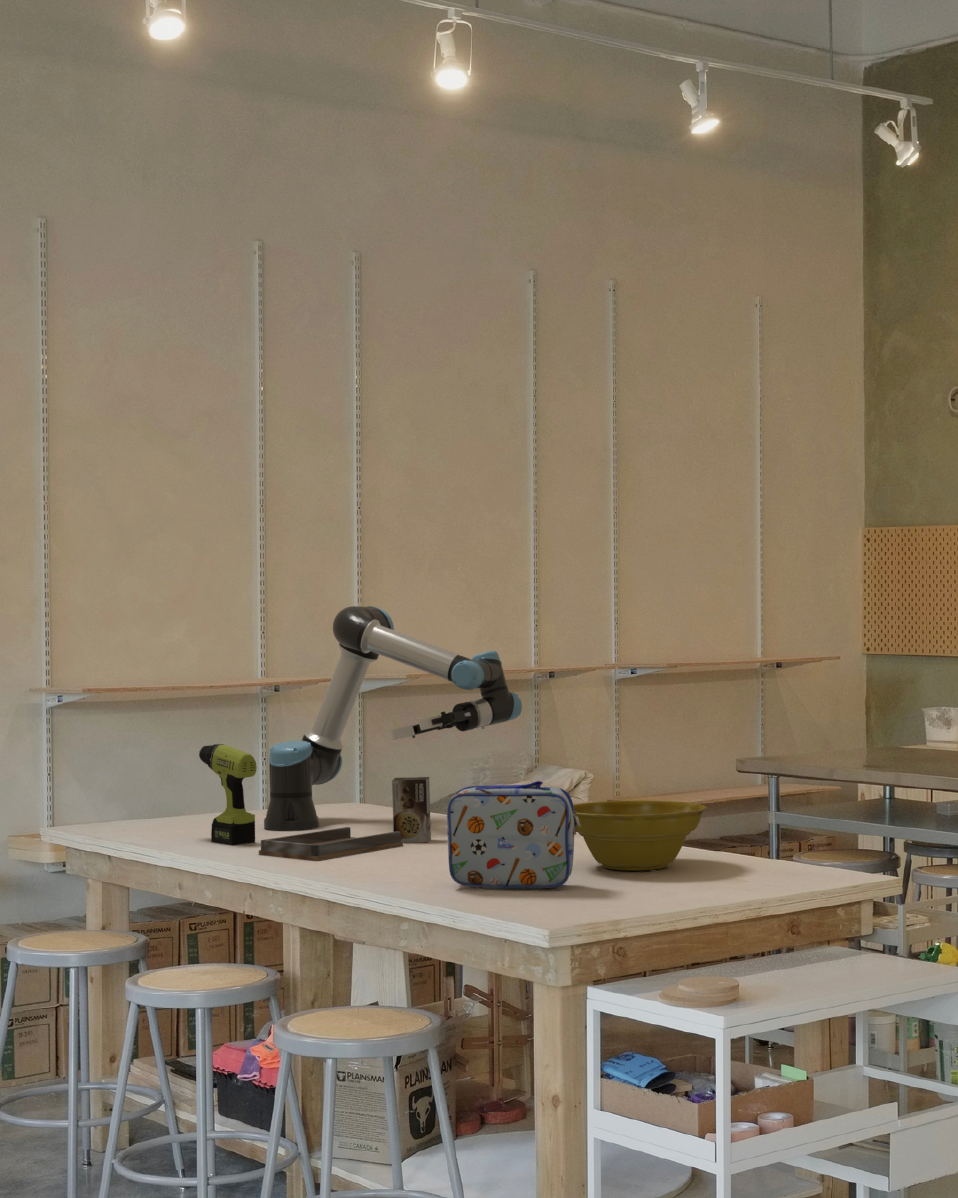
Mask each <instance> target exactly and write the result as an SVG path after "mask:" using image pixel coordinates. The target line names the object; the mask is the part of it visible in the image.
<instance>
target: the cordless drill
mask: <svg viewBox="0 0 958 1198" xmlns="http://www.w3.org/2000/svg"><path fill="white" fill-rule="evenodd" d="M198 752H199V753H198V758H199V759H200V760H201V761H202V762H203V763H204V764H205V765H207V767H208V768H209V769H210V770H211V771H213V772H214V773H215V774H216V775H217V776H218V777H219V778H220V783H221V786H222V787H223V788H224V790H225V797H226V807H225V809H224V811H223V812H222V813H220V814H218V815H217V816H215V817H214V818H213V820H212V822H211V831H210V832H211V833H210V835H211V836H210V838H211V840H210V841H211V843H215V844H222V845H229V846H238V845H244V844H246V845H247V844H252V843H256V814H253V813H252V812H247V811H246V810H247V809H246V807H245V794H244V785H243V780H244V779H245V778H251V777H254V776H255V775H256V773H257V770H258V769H257V768H258V767H257V762H256V759H255V757H254V756H253V755H252V754H250V753H248V752H245V751H243V750H240V749H237V748H236V747H232V746H230V745H228V744H227V745H226V744H223V743H216V744H212V745H211V744H210V745H204V746H203V747H201V748H200V750H199V751H198Z"/></svg>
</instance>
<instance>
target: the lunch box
mask: <svg viewBox="0 0 958 1198" xmlns="http://www.w3.org/2000/svg"><path fill="white" fill-rule="evenodd" d="M543 783H544V782H543V781H541V780H537V781H534V782H531V783H526V784H511V785H508V784H506V785H505V784H504V785H502V784H501V785H499V784H498V785H471V786H466V787H464V788H460V789H459V790H458V791H457V792H456V793H455V794H454V795H453V796H451V798H450V799H449V802H448V803H447V806H446V825H447V829H446V830H447V852H448V856H447V857H448V870H449V875H450V877H451V879H452V880H453V881H454V883H457V884H458V885H461V886H464V887H469V888H478V889H479V888H480V889H496V890H497V889H498V890H509V889H511V890H513V889H515V890H517V889H518V890H521V889H522V890H535V889H549V888H551V889H552V888H558V887H561V886H564V884H565V883H566V882H567V881H568V880H569V877H570V876H571V874H572V871H573V866H574V851H575V835H577V832H576V825H578V827H579V828H580V827H581V825H580V822H579V819H578V817H577V816H576V811H574V808H573V805H574V803H573V799H572V797H571V795H570V793H568V791H567V790H565V789H563V788H561V787H553V786H542V785H543Z"/></svg>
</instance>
